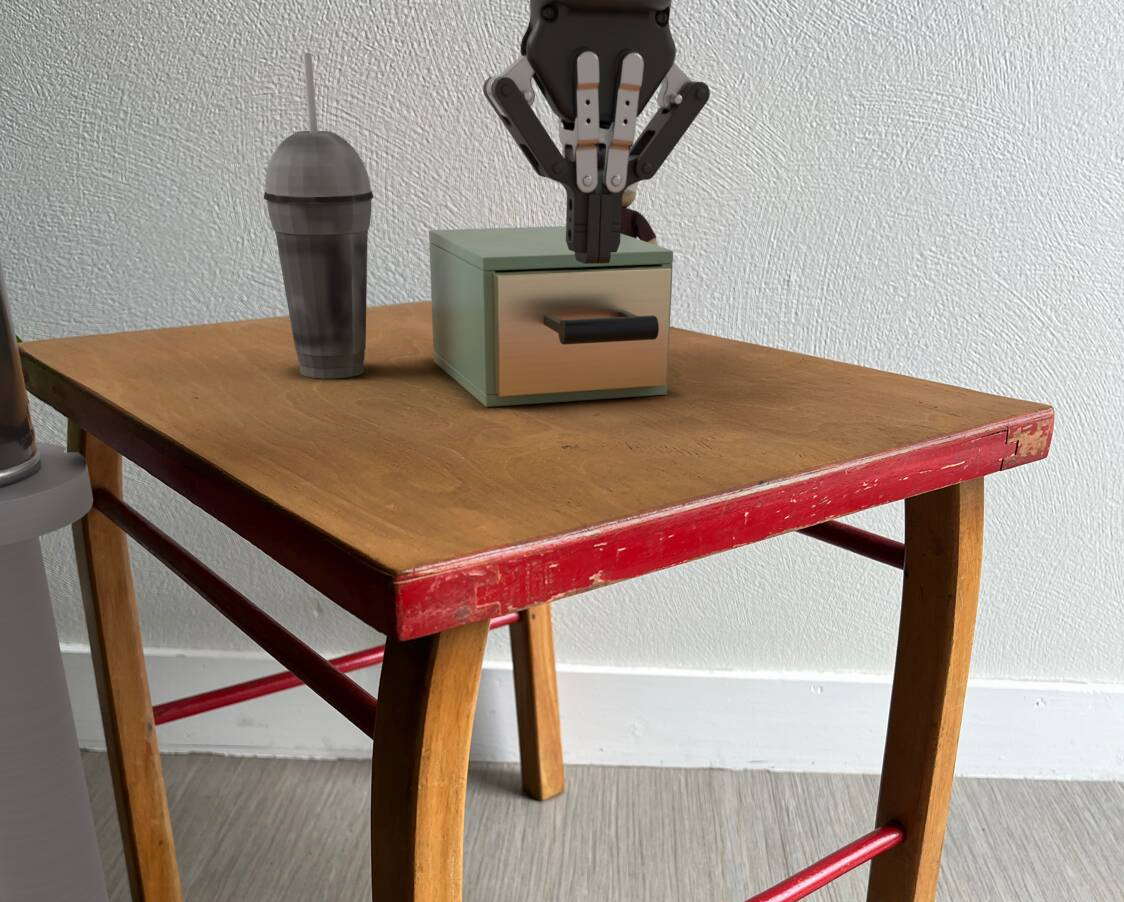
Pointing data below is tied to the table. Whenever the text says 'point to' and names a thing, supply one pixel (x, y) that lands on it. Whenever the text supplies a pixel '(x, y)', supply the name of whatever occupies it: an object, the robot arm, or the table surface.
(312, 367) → the beverage cup
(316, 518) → the table surface
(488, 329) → the drawer cabinet
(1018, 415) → the table surface
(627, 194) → the grandmother figurine
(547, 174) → the robot arm
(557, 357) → the wooden drawer
